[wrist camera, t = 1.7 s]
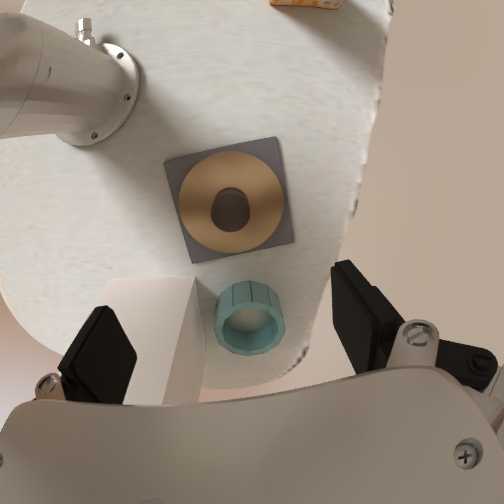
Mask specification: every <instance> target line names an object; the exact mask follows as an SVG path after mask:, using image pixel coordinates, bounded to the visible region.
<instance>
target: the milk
mask: <svg viewBox="0 0 504 504" xmlns="http://www.w3.org/2000/svg"><path fill="white" fill-rule="evenodd" d="M105 305H107V306H109V307H110V308H112V309H113V310H114V312H115V314H116V316H117V318H118V320H119V322H120V324H121V326H122V328H123V330H124V332H125V333H126V335H127V337H128V339H129V341H130V343H131V344H132V346H133V348H134V350H135V351H136V353H137V362H136V365H135V368H134V371H133V373H132V376H131V379H130V382H129V386H128V389H127V392H126V395H125V398H124V401H123V404H124V405H164V404H187V403H198V401H199V394H200V387H201V381H202V374H203V368H204V362H205V355H206V344H205V338H204V332H203V326H202V320H201V314H200V307H199V300H198V294H197V287H196V279H195V277H168V278H130V279H111V280H110V281H109V283H108V285H107V286H106V288H105V289H104V291H103V293H102V294H101V296H100V298H99V299H98V301H97V303H96V304H95V306H94V308H95V307H98V306H105ZM94 308H93V309H92V311H93V310H94ZM92 311H91V313H92ZM91 313H90V314H91ZM90 314H89V316H90ZM89 316H88V317H89ZM87 319H88V318H87ZM85 322H86V321H85ZM58 375H59V376H60V377H61V375H62V374H61V372H60V371H59V374H58Z"/></svg>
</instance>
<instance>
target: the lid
mask: <svg viewBox="0 0 504 504" xmlns="http://www.w3.org/2000/svg"><path fill="white" fill-rule="evenodd" d="M283 203H284V199H283V192H282V188H281V185H280V183H279V180H278V178H277V177H276V175H275V174H274V172H273V171H272V170H271V169H270V168H269V167H268V166H267V165H266V164H265V163H264V162H263V161H261V160H260V159H258V158H256V157H255V156H252V155H250V154H247V153H243V152H237V151H226V152H220V153H216V154H213V155H211V156H208V157H206V158H205V159H203V160H201V161H200V162H199V163H197V164H196V165H195V166H194V167H193V168H192V169H191V170H190V172H189V173H188V174H187V176H186V177H185V179H184V181H183V184H182V186H181V189H180V194H179V211H180V216H181V218H182V221H183V223H184V225H185V227H186V229H187V230H188V232H189V233H190V234H191V236H192V237H193V238H194V239H195V240H197V241H198V242H199V243H201V244H202V245H204V246H205V247H207V248H209V249H212V250H215V251H218V252H224V253H238V252H243V251H247V250H250V249H252V248H255V247H257V246H258V245H260V244H261V243H263V242H264V241H265V240H267V239H268V238H269V237H270V236H271V234H272V233H273V232H274V231H275V229H276V227H277V226H278V224H279V222H280V219H281V216H282V212H283Z"/></svg>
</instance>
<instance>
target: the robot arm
mask: <svg viewBox="0 0 504 504" xmlns="http://www.w3.org/2000/svg"><path fill="white" fill-rule="evenodd" d="M91 32H92V28H91V19H90V18H84V19H81V20H79V21H78V22H77V23H76V36H77V38H75V37H73V36H71V35H69V34H67V33H65V32H63V31H61V30H59V29H57V28H55V27H53V26H51V25H48V24H46V23H44V22H42V21H40V20H37V19H35V18H33V17H30V16H28V15H25V14H22V13H17V12H6V13H0V139H6V138H13V137H22V136H31V135H43V134H56V135H57V137H59V138H60V139H61V140H62V141H64V142H66V143H68V144H70V145H76V146H85V145H91V144H95V143H98V142H100V141H102V140H104V139H106V138H107V137H109V136H110V135H112V134H113V133H114V132H115V131H116V130H118V128H119V127H120V126H121V125H122V124H123V123H124V122H125V120H126V119H127V117H128V116H129V114H130V113H131V110H132V108H133V106H134V104H135V102H136V98H137V95H138V90H139V71H138V68H137V64H136V62H135V61H134V59H133V57H132V56H131V55H130V54H129V53H128V52H127V51H126V50H124V49H123V48H121V47H119V46H117V45H114V44H108V43H102V44H96V43H95V39H94V37H91ZM122 56H123V58H122ZM130 96H131V98H130V100H128V98H129V97H130ZM97 134H98V137H97ZM331 286H332V310H333V325H334V328H335V330H336V332H337V334H338V336H339V338H340V341H341V343H342V345H343V347H344V349H345V351H346V353H347V355H348V357H349V360H350V362H351V364H352V366H353V368H354V370H355V372H356V375H354V376H349V377H346V378H341V379H337V380H334V381H329V382H325V383H321V384H317V385H312V386H308V387H303V388H298V389H294V390H288V391H283V392H278V393H272V394H267V395H260V396H254V397H247V398H240V399H231V400H223V401H213V402H201V403H187V404H164V405H124V404H123V401H124V398H125V395H126V392H127V389H128V386H129V382H130V379H131V376H132V373H133V371H134V368H135V365H136V362H137V353H136V351H135V350H134V348H133V346H132V344H131V343H130V341H129V339H128V337H127V335H126V333H125V332H124V330H123V328H122V326H121V324H120V322H119V320H118V318H117V316H116V314H115V312H114V310H113V309H112V308H110V307H109V306H107V305H105V306H98V307H95V308H94V310H93V311H92V313H91V314H90V316H89V317H88V319H87V320H86V322H85V323H84V325H83V326H82V328H81V329H80V331H79V333H78V334H77V336H76V337H75V339H74V341H73V342H72V344H71V345H70V347H69V349H68V350H67V352H66V354H65V355H64V357H63V359H62V360H61V362H60V364H59V366H58V370H59V371H60V372H61V374H62V375H61V377H60V376H59V375H58V374H56V373H49V374H47V375H45V376H44V377H42V378H41V379H40V380H39V381H38V383H37V385H36V388H35V394H36V398H35V399H33V400H31V401H28V402H25V403H22V404H20V405H18V406H17V407H15V408H14V409H13V411H12V412H11V413H10V415H9V417H8V419H7V420H6V422H5V424H4V426H3V428H2V430H1V432H0V504H504V365H503V366H502V367H500V366H498V362H497V359H496V357H495V356H494V355H493V354H492V353H491V352H490V351H489V350H487V349H484V348H479V347H475V346H470V345H465V344H460V343H455V342H450V341H446V340H442V339H439V332H438V330H437V328H436V327H435V326H434V325H433V324H432V323H429V322H428V321H425V320H418V319H415V320H410V321H407V322H405V321H404V319H403V318H402V317H401V315H400V314H399V313H398V312H397V311H396V309H395V308H394V307H393V306H392V304H391V303H390V302H389V301H388V300H387V299H386V297H385V296H384V295H383V294H382V293H381V291H380V290H379V289H378V288H377V287H376V286H371V284H370V283H369V282H368V281H367V280H366V278H365V277H364V276H363V275H362V274H361V272H359V270H358V269H357V268H356V267H355V266H354V264H353V263H352V262H351V261H350V260H349V259H348V260H344V261H340V262H335V266H333V267H331Z"/></svg>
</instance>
